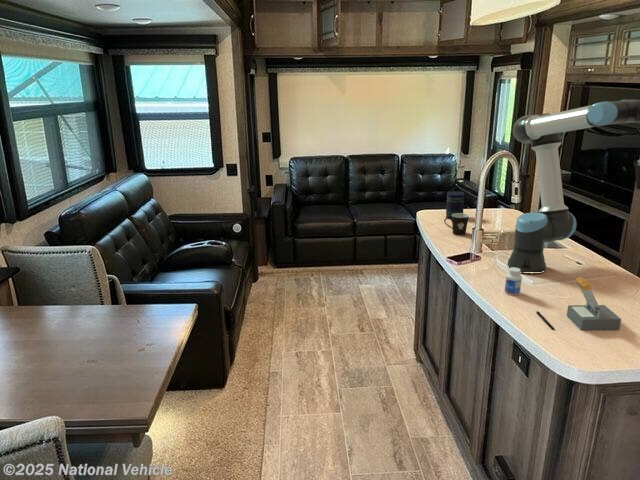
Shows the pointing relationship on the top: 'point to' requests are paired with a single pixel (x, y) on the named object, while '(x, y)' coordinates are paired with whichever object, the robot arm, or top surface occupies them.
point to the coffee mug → (459, 223)
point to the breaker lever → (588, 294)
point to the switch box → (593, 318)
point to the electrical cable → (545, 321)
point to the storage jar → (454, 203)
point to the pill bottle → (513, 281)
